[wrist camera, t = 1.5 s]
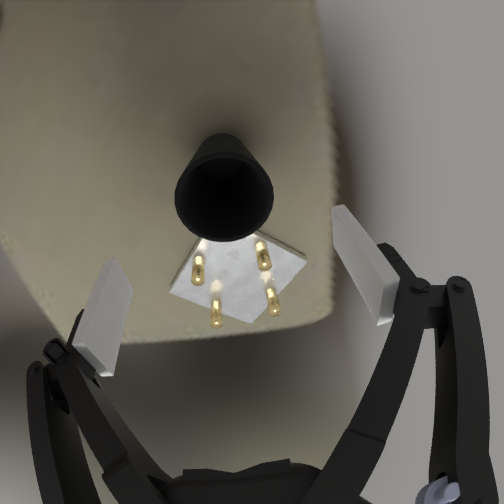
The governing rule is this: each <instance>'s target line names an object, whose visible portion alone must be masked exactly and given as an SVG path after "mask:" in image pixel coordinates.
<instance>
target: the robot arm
mask: <svg viewBox="0 0 504 504" xmlns="http://www.w3.org/2000/svg"><path fill="white" fill-rule="evenodd" d="M332 222H333V243H334V248H335V249H336V251H337V253H338V255H339V256H340V258H341V260H342V261H343V263H344V265H345V267H346V268H347V270H348V272H349V274H350V276H351V278H352V279H353V281H354V283H355V285H356V287H357V288H358V290H359V292H360V294H361V296H362V298H363V300H364V301H365V303H366V305H367V307H368V309H369V311H370V313H371V314H372V317H373V319H374V321H375V323H376V325H377V326H378V325H381V324H384V323H387V322H390V321H391V320H392V315H393V313H394V315H395V317H394V320H393V323H392V326H391V329H390V332H389V334H388V337H387V340H386V343H385V345H384V348H383V350H382V353H381V355H380V358H379V360H378V363H377V365H376V368H375V370H374V373H373V375H372V377H371V380H370V382H369V384H368V386H367V389H366V391H365V393H364V395H363V397H362V400H361V402H360V404H359V406H358V408H357V410H356V412H355V414H354V416H353V418H352V420H351V423H350V424H349V426H348V428H347V429H346V430H345V432H344V433H343V435H342V437H341V439H340V440H339V442H338V444H337V445H336V447H335V449H334V451H333V452H332V454H331V456H330V458H329V459H328V461H327V463H326V465H325V466H324V468H323V469H322V470H320V469H318V468H316V467H313V466H311V465H306V464H302V463H291V462H290V459H284V460H278V461H272V462H266V463H261V464H259V465H256V466H253V467H250V468H248V469H245V470H242V471H239V472H236V473H231V472H224V471H218V470H212V469H184V470H183V475H181V476H178V477H176V478H174V479H172V478H171V477H170V476H169V475H167V474H166V473H165V472H164V471H163V470H162V469H161V468H160V467H159V466H158V465H157V464H156V462H155V461H154V460H153V459H152V457H150V455H149V454H148V453H147V451H146V450H145V449H144V447H143V446H142V445H141V443H140V442H139V441H138V440H137V438H136V437H135V435H134V434H133V433H132V431H131V430H130V429H129V427H128V426H127V424H126V423H125V421H124V420H123V419H122V417H121V416H120V414H119V413H118V411H117V410H116V408H115V407H114V405H113V404H112V402H111V401H110V399H109V397H108V396H107V394H106V393H105V391H104V389H103V388H102V386H101V384H100V383H99V381H98V379H97V378H96V377H95V376H94V375H95V371H97V372H98V373H99V374H100V375H101V376H113V375H114V370H115V364H116V360H117V355H118V350H119V347H120V342H121V338H122V334H123V330H124V326H125V322H126V318H127V314H128V310H129V306H130V303H131V299H132V295H133V292H134V290H133V288H132V286H131V284H130V283H129V281H128V279H127V277H126V275H125V274H124V272H123V270H122V268H121V266H120V264H119V262H118V261H117V259H116V257H115V258H111V259H108V260H106V261H105V263H104V265H103V267H102V269H101V271H100V274H99V276H98V278H97V281H96V283H95V285H94V288H93V290H92V292H91V295H90V297H89V300H88V302H87V304H86V307H85V309H82V310H81V312H80V313H79V314H78V316H77V317H76V320H75V323H74V325H73V328H72V331H71V333H70V336H69V339H68V341H67V344H66V346H65V345H64V343H63V342H62V341H61V340H60V339H59V338H54V339H52V340H51V341H49V342H48V343H47V344H46V346H45V347H44V350H43V356H44V357H45V358H46V359H47V360H48V361H49V362H50V364H47V365H45V366H44V365H43V364H42V363H41V362H40V361H34V362H33V363H32V364H31V365H30V366H29V368H28V370H27V373H26V388H27V410H28V423H29V433H30V440H31V448H32V455H33V460H34V466H35V471H36V476H37V481H38V485H39V490H40V494H41V498H42V502H43V504H101V501H100V499H99V496H98V493H97V490H96V488H95V485H94V482H93V479H92V476H91V473H90V470H89V467H88V464H87V460H86V457H85V453H84V450H83V446H82V442H81V438H80V434H79V430H78V425H79V427H80V429H81V431H82V433H83V435H84V437H85V439H86V441H87V443H88V444H89V446H90V448H91V450H92V451H93V453H94V455H95V457H96V458H97V460H98V461H99V464H100V465H101V467H102V468H103V470H104V473H103V474H102V479H103V480H104V482H105V484H106V485H107V487H108V488H109V490H110V491H111V493H112V494H113V496H114V497H115V499H116V500H117V501H118V503H119V504H372V503H370V502H368V501H367V500H365V499H364V498H362V497H361V496H359V495H360V493H361V492H362V490H363V488H364V487H365V485H366V483H367V481H368V479H369V477H370V475H371V474H372V471H373V470H374V468H375V466H376V464H377V462H378V460H379V458H380V456H381V453H382V451H383V449H384V446H385V444H386V440H387V437H388V435H389V432H390V430H391V428H392V425H393V423H394V420H395V418H396V415H397V413H398V410H399V408H400V405H401V402H402V400H403V397H404V394H405V391H406V388H407V386H408V382H409V379H410V376H411V373H412V370H413V367H414V364H415V360H416V357H417V353H418V350H419V346H420V343H421V339H422V335H423V331H424V329H429V328H434V334H435V357H436V392H435V393H436V395H435V414H434V428H433V438H432V447H431V456H430V463H429V484H427V485H426V486H424V487H423V488H422V489H421V490H420V491H419V493H418V495H417V497H416V503H415V504H498V503H499V498H498V492H497V486H496V482H495V477H494V472H493V468H492V464H491V459H490V456H489V433H490V421H489V420H490V415H489V414H490V413H489V392H488V391H489V390H488V378H487V368H486V359H485V351H484V345H483V338H482V332H481V327H480V322H479V316H478V312H477V307H476V303H475V298H474V294H473V290H472V286H471V285H470V282H469V281H467V279H465V278H463V277H460V276H452V277H451V278H449V279H448V281H447V283H446V285H430V283H429V282H428V281H426V280H425V279H422V278H417V277H416V276H415V274H414V273H413V272H412V270H411V269H410V268H409V267H408V265H407V264H406V263H405V261H404V260H403V259H402V257H400V255H399V254H398V252H397V251H396V250H395V249H394V247H392V246H390V245H389V244H387V243H382V244H378V245H376V244H375V243H374V242H373V241H372V239H371V238H370V237H369V235H368V234H367V233H366V231H365V230H364V229H363V228H362V226H361V225H360V224H359V223H358V221H357V220H356V219H355V218H354V216H353V215H352V214H351V213H350V212H349V210H348V209H347V208H346V207H345V205H339V206H334V207H332ZM77 423H78V425H77Z"/></svg>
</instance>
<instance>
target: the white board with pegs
mask: <svg viewBox="0 0 504 504" xmlns="http://www.w3.org/2000/svg"><path fill="white" fill-rule="evenodd" d="M306 263H307V260H306V257H305V255H303V254H301V253H299V252H297V251H296V250H294V249H292V248H290V247H288V246H286V245H284V244H282V243H281V242H279V241H277V240H275V239H273V238H271V237H269V236H267V235H265V234H264V233H262V232H260V231H258V230H257V231H255V232H254V233H253V234H251V235H249V236H247V237H245V238H243V239H240V240H237V241H233V242H214V241H209V240H206V239H203V238H201V237H200V238H199V240H198V241H197V243H196V244H195V246H194V248H193V249H192V251H191V252H190V254H189V256H188V257H187V259H186V261H185V262H184V264H183V265H182V267H181V269H180V270H179V272H178V274H177V275H176V277H175V279H174V280H173V282H172V284H171V285H170V291H169V293H172V294H174V295H177V296H179V297H182V298H184V299H187V300H189V301H192V302H194V303H197V304H199V305H202V306H204V307H207V308H210V309H211V327H213V328H216V329H218V328H221V327H222V313H223V314H226V315H228V316H231V317H234V318H236V319H239V320H242V321H245V322H248V323H250V324H252V322H253V321H254V320H255V319H256V318H257V317H258V316H259V315H260V314H261V313H262V312H263V311H264V310H265V308H266V307H267V306H268V308H269V313H270V315H271V316H278V315H280V314H281V308H280V304H279V300H278V296H277V295H278V294H279V293H280V292H281V291H282V290H283V289H284V288H285V286H286V285H287V284H288V283H289V282H290V281H291V280H292V279H293V277H294V276H295V275H296V274H297V273H298V272H299V271H300V270H301V268H302V267H303V266H304V265H305V264H306Z"/></svg>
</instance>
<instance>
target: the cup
mask: <svg viewBox="0 0 504 504" xmlns="http://www.w3.org/2000/svg"><path fill="white" fill-rule="evenodd" d="M273 200H274V194H273V186H272V184H271V181H270V178H269V176H268V175H267V173H266V172H265V171H264V169H263V168H262V167H261V165H260V164H259V163H258V162H257V161H256V159H255V158H254V157H253V156H252V155H251V153H250V152H249V151H248V150H247V149H246V147H245V146H244V145H243V144H242V143H241V141H240V140H238V139H237V138H236V137H234V136H231V135H228V134H217V135H213V136H211V137H209V138H208V139H206V140H205V141H204V142H203V143H202V145H201V146H200V148H199V149H198V151H197V152H196V154H195V155H194V157H193V158H192V160H191V161H190V163H189V164H188V166H187V167H186V169H185V170H184V172H183V174H182V175H181V177H180V179H179V180H178V182H177V186H176V189H175V207H176V211H177V214H178V216H179V218H180V219H181V221H182V223H183V224H184V225H185V226H186V227H187V228H188V229H189V230H190V231H191V232H192V233H194V234H196V235H197V236H199V237H201V238H203V239H206V240H209V241H214V242H233V241H237V240H240V239H243V238H245V237H247V236H249V235H251V234H253V233H254V232H255V231H257V230H258V229H259V228H260V227H261V226H262V225H263V224H264V223H265V221H266V220H267V219H268V217H269V214H270V212H271V210H272V206H273Z"/></svg>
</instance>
